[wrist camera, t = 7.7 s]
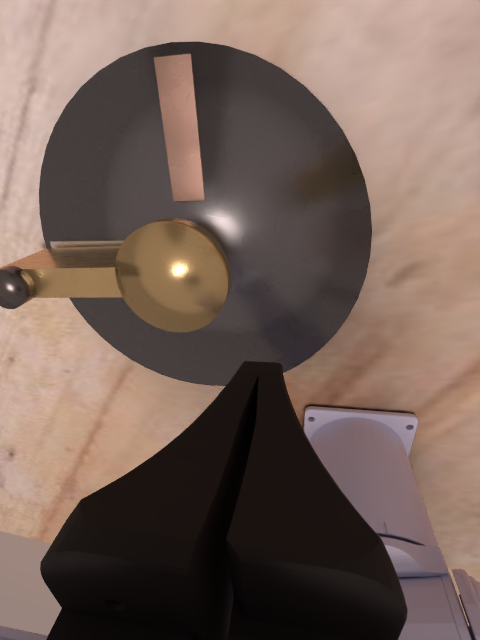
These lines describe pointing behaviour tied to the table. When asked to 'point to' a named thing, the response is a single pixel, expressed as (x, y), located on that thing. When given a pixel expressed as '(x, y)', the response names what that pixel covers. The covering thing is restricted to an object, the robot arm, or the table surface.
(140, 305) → the tan bar with ball
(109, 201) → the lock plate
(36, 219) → the table surface
